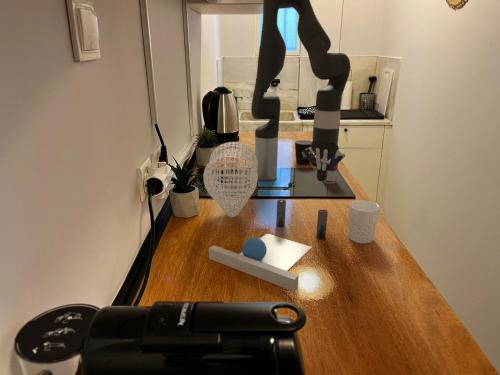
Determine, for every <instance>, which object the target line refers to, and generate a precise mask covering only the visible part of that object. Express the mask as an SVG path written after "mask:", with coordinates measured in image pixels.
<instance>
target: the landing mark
mask: <svg viewBox="0 0 500 375" xmlns="http://www.w3.org/2000/svg"><path fill="white" fill-rule="evenodd" d="M259 239H260V240H262V241H263V242H264V243H265V245H266V255H265V257H264V258H263V259H262V260H261V261H259V262H262V263H265V264H268V265H271V266H273V267H276V268H279V269H282V270H285V271H287V272H289V270H290V269H292V268H293V266H294V265H296V263H298V261H300V259H302V258H303V257H304V256H305V255H306V254H307V253H308V252H309V251H311V249H312V247H313V246H310V245H306V244H303V243H300V242H297V241H292V240H290V239H286V238H283V237H280V236H277V235H273V234H269V233H266V234H264V235H263V236H262V237H259ZM239 254H240V255H243V251H242V250H241V252H239ZM243 256H244V255H243Z"/></svg>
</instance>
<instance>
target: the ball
mask: <svg viewBox="0 0 500 375" xmlns="http://www.w3.org/2000/svg"><path fill="white" fill-rule="evenodd" d="M242 251H243V255H244V256H246V257H248V258H251V259H254V260H257V261H261V260H262V259H263V258H264V257H265V255H266V245H265V243H264V242H263V241H262V240H260V238H258V237H251V238H248V239H247V240H246V241H245V242H244V244H243V245H242V250H241V252H242Z"/></svg>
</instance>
